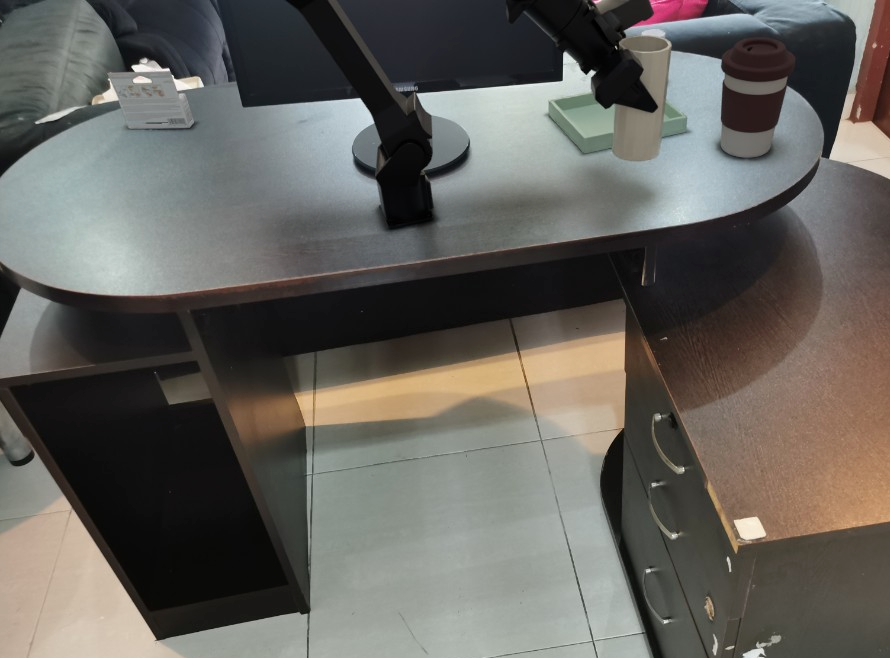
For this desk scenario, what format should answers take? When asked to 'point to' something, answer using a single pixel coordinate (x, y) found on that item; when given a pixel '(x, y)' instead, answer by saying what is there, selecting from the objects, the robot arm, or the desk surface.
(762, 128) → the coffee cup
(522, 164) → the desk surface
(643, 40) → the tumbler
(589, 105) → the tray
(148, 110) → the ink cartridge box
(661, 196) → the desk surface
